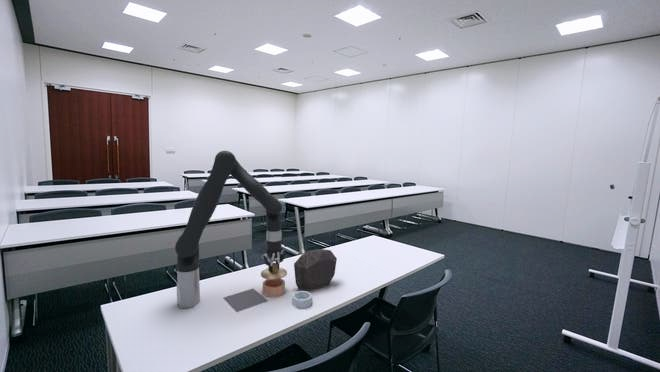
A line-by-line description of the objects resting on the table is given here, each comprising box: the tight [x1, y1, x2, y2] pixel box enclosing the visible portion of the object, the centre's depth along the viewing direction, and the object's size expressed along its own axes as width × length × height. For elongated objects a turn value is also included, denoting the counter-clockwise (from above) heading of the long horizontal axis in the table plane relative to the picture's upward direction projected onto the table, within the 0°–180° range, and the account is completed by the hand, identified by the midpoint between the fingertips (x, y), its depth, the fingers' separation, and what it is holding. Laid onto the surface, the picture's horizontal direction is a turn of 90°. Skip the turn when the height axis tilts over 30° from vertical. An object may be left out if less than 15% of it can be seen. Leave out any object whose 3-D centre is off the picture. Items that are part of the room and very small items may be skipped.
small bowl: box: [291, 290, 313, 310], centre depth 148 cm, size 9×9×4 cm
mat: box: [223, 288, 269, 313], centre depth 150 cm, size 16×16×1 cm
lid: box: [260, 262, 288, 280], centre depth 157 cm, size 13×13×5 cm
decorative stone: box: [293, 248, 337, 291], centre depth 165 cm, size 24×9×20 cm, turn 123°
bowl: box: [262, 278, 286, 298], centre depth 158 cm, size 11×11×5 cm
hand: (273, 271), depth 157 cm, fingers closed on lid, 2 cm apart
